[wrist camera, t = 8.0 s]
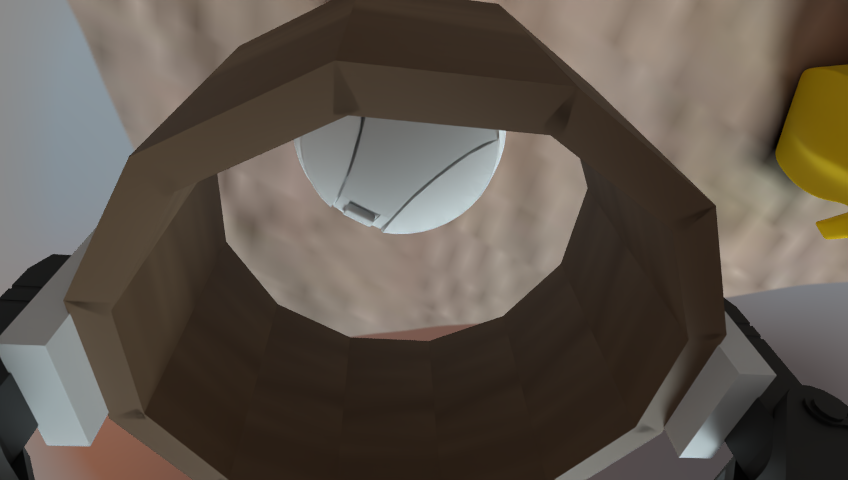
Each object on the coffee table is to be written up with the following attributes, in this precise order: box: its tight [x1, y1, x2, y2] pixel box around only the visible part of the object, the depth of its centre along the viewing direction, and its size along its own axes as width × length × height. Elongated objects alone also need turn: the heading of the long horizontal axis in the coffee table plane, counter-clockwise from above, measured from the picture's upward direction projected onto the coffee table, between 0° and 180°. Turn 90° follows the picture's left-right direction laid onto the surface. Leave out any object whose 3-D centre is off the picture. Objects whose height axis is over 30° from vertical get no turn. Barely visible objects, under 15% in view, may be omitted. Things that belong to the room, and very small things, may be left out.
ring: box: [63, 0, 727, 480], centre depth 12 cm, size 12×12×6 cm
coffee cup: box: [294, 115, 506, 234], centre depth 24 cm, size 8×8×15 cm
